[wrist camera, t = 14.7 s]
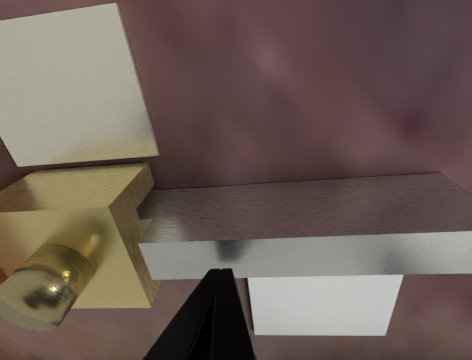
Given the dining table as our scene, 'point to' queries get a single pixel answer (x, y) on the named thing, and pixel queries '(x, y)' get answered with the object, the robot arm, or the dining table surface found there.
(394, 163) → the dining table surface
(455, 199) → the flange rail
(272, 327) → the pad
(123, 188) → the clip saddle
